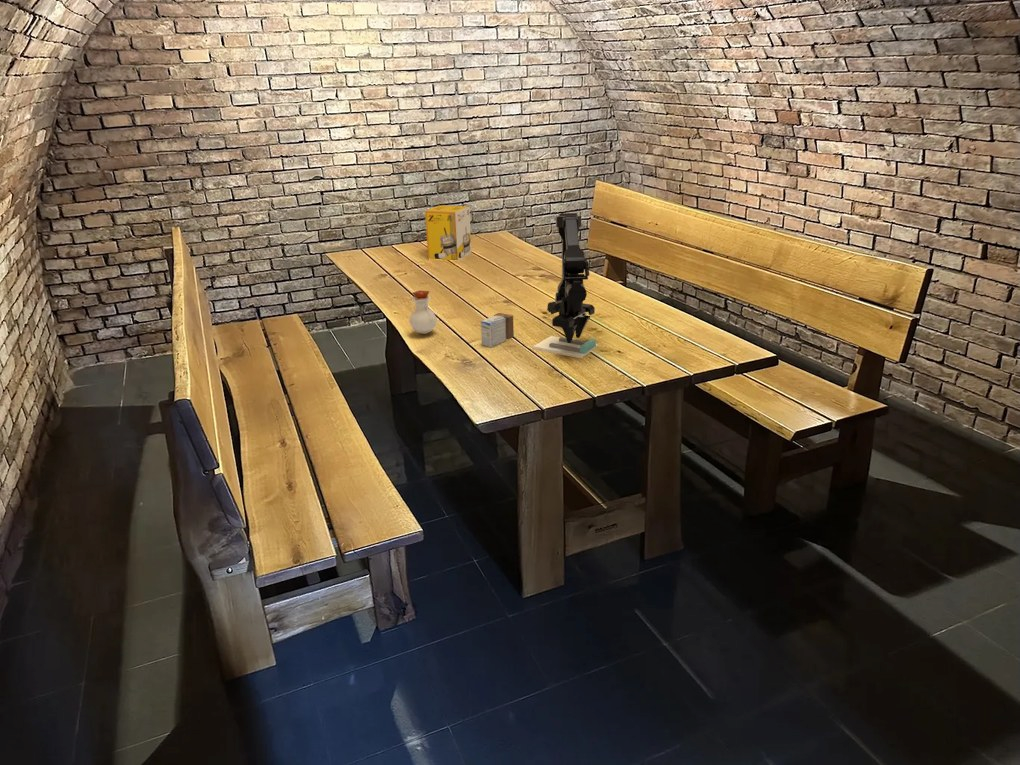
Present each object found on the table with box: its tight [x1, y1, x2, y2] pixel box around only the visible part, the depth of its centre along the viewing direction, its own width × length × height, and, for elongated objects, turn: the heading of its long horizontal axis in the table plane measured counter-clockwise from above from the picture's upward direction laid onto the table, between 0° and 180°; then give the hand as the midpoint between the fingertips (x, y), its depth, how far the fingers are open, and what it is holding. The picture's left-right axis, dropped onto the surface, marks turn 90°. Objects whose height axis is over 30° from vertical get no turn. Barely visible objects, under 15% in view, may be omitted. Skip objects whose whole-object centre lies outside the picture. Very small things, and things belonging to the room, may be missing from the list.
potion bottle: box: [409, 290, 437, 335], centre depth 256 cm, size 9×10×15 cm
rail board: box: [532, 335, 599, 359], centre depth 241 cm, size 12×18×4 cm, turn 57°
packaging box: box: [424, 205, 472, 260], centre depth 359 cm, size 16×16×25 cm
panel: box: [493, 312, 515, 340], centre depth 252 cm, size 3×8×6 cm
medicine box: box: [480, 315, 507, 348], centre depth 247 cm, size 8×4×9 cm, turn 141°
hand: (573, 340), depth 239 cm, fingers open, 6 cm apart
